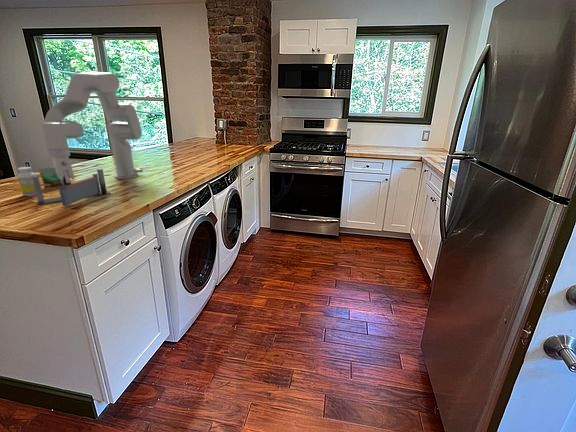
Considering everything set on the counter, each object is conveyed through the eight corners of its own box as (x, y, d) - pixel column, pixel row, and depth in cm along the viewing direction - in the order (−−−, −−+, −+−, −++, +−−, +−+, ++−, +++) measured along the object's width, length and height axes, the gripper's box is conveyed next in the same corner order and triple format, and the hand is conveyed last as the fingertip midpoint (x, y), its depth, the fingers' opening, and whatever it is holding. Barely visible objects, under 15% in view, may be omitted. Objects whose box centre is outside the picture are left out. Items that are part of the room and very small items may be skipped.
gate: (97, 191, 150) (94, 173, 146) (101, 191, 149) (98, 173, 146) (62, 205, 129) (57, 185, 126) (66, 205, 129) (61, 185, 126)
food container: (52, 188, 155) (47, 169, 151) (42, 187, 156) (37, 168, 153) (72, 183, 166) (68, 164, 163) (63, 182, 167) (59, 164, 164)
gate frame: (107, 191, 154) (102, 167, 150) (110, 194, 150) (106, 170, 146) (37, 201, 136) (30, 175, 131) (39, 205, 132) (32, 178, 127)
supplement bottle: (29, 192, 148) (22, 166, 144) (44, 192, 149) (37, 166, 144) (19, 196, 142) (11, 169, 137) (34, 196, 142) (27, 169, 138)
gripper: (73, 154, 126) (82, 196, 133) (65, 149, 136) (74, 188, 143) (51, 156, 121) (62, 199, 128) (44, 151, 131) (55, 191, 138)
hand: (68, 193), depth 135 cm, fingers closed
